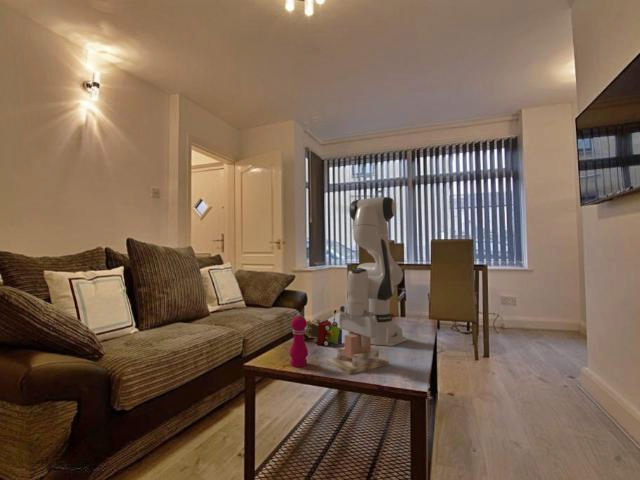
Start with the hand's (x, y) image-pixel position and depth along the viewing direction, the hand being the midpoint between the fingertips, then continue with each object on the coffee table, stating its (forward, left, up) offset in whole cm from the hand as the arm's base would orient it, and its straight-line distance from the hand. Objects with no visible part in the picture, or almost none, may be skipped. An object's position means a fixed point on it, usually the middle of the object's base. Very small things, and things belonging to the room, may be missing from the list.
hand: (357, 344), depth 129 cm
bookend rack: (0, 0, -8) cm, 8 cm away
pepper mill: (+20, -12, -8) cm, 25 cm away
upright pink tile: (0, 0, -4) cm, 4 cm away
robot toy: (-5, -32, -8) cm, 33 cm away
